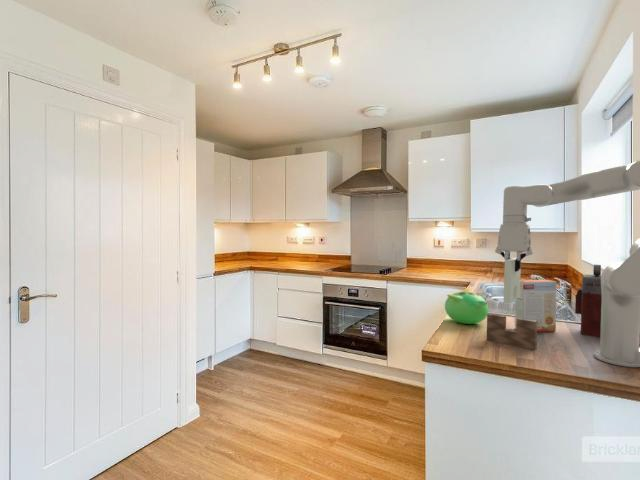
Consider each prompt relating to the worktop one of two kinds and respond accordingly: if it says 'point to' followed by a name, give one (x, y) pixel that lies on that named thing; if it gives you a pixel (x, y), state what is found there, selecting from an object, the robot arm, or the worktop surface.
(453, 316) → the toy bird
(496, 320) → the walnut board
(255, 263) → the worktop surface
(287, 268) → the worktop surface
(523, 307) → the cracker box
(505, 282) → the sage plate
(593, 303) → the dark red canister
